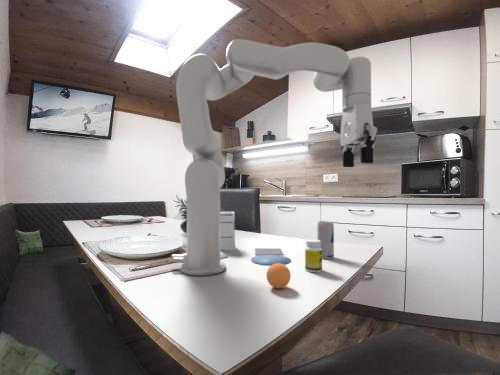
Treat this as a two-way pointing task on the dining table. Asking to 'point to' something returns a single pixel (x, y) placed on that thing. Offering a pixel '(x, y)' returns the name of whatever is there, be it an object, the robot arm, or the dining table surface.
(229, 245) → the syrup box
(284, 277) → the ball
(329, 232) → the energy drink
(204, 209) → the robot arm
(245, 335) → the dining table surface
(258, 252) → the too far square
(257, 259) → the disc
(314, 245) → the supplement bottle
